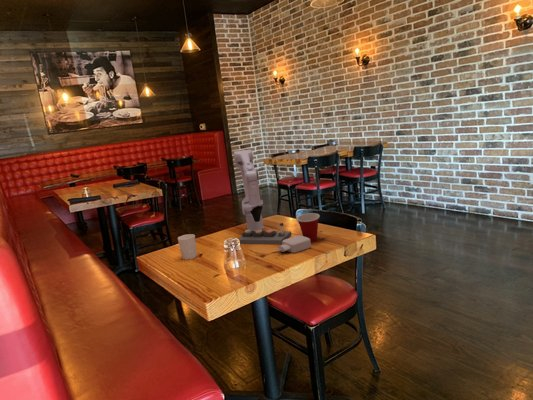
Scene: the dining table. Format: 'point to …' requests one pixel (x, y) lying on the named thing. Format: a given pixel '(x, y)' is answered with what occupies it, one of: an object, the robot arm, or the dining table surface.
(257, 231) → the button cream
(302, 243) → the white bottle
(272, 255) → the dining table surface
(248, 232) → the button sage
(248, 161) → the robot arm
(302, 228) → the plastic cup
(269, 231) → the button terracotta
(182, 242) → the white cup
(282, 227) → the toggle lever
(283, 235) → the control panel
